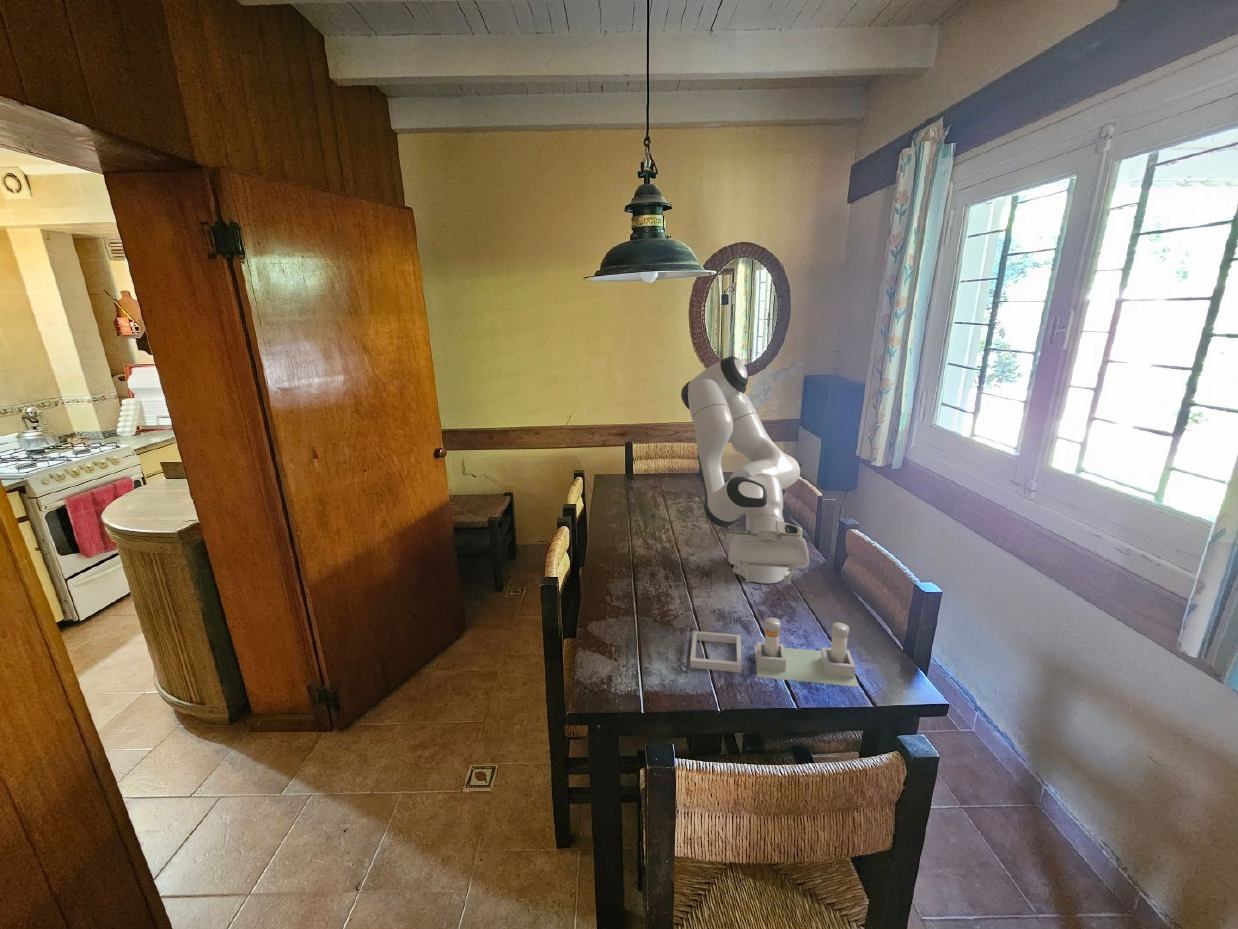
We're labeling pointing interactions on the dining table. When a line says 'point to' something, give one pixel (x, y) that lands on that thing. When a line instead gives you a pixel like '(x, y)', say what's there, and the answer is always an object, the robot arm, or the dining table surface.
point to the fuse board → (805, 666)
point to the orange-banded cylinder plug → (771, 637)
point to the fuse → (839, 642)
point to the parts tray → (716, 663)
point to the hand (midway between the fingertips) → (768, 582)
